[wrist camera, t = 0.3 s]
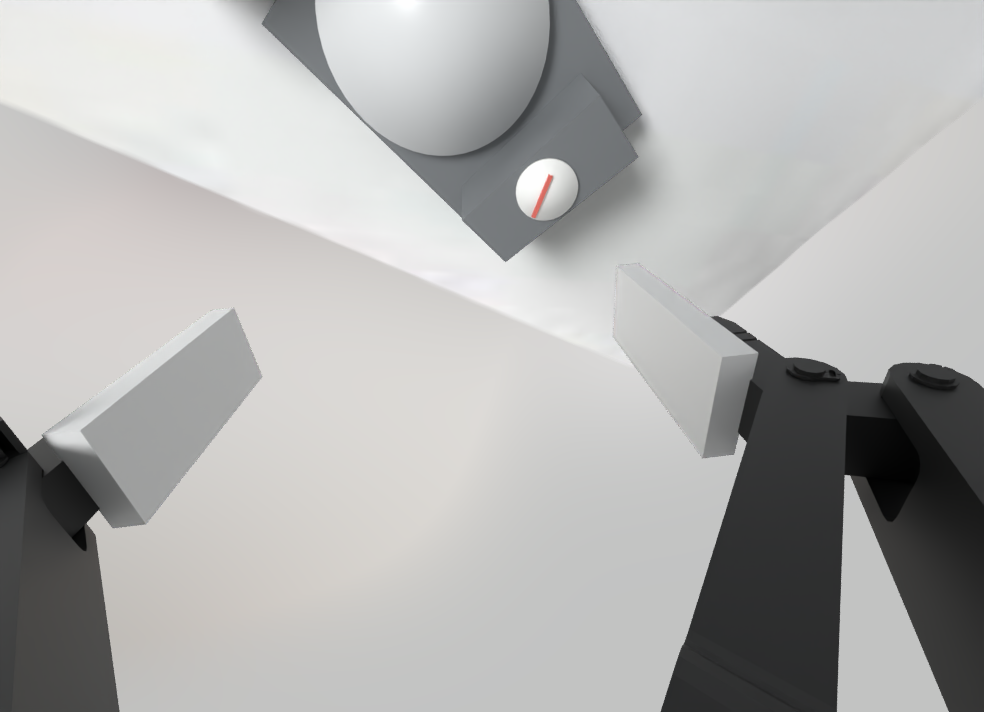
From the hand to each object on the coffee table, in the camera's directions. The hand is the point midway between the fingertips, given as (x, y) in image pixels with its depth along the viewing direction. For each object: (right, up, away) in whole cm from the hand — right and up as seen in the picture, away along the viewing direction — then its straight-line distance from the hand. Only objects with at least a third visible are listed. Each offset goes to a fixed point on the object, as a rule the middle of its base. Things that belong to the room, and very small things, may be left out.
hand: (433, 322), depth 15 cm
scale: (0, +21, +17) cm, 27 cm away
